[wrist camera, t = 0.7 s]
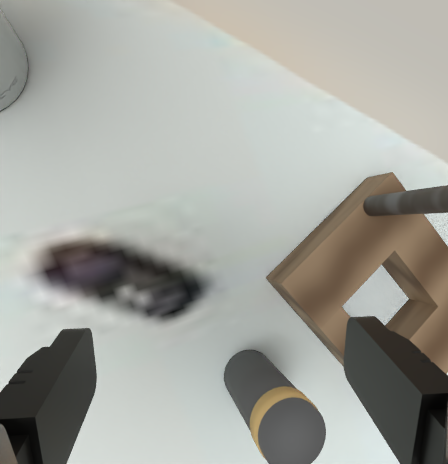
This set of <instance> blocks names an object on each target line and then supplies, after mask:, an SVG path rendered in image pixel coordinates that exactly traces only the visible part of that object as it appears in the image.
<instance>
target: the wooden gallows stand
mask: <svg viewBox="0 0 448 464" xmlns="http://www.w3.org/2000/svg"><path fill="white" fill-rule="evenodd" d="M447 212H448V185H447V186H440V187H432V188H425V189H418V190H411V191H406V190H405V188H404V187H403V186H402V184H401V183H400V182H399V180H398V179H397V178H396V176H395V175H394V173H393V172H391V173H386V174H382V175H377V176H373V177H368V178H366V179H365V180H364V181H363V182H362V183H361V184H360V185H359V186H358V187H357V188H356V189H355V190H354V191H353V192H352V193H351V194H350V195H349V196H348V197H347V198H346V199H345V200H344V201H343V202H342V203H341V204H340V205H339V206H338V207H337V208H336V209H335V210H334V211H333V212H332V213H331V214H330V215H329V216H328V217H327V218H326V219H325V220H324V221H323V222H322V223H321V224H320V225H319V226H318V227H317V228H316V229H315V230H314V231H313V232H312V233H311V234H310V235H309V236H308V237H307V238H306V239H305V240H304V241H303V242H302V243H300V244H299V245H298V246H297V247H296V248H295V249H294V250H293V251H292V252H291V253H290V254H289V255H288V256H287V257H286V258H285V259H284V260H283V261H282V262H281V263H280V264H279V265H278V266H277V267H276V268H275V269H274V270H273V271H272V272H271V273H270V274H269V275H268V276H267V277H266V279H267V280H268V281H269V282H270V283H271V284H272V285H273V287H274V288H275V289H276V290H277V291H278V292H279V293H280V295H281V296H282V297H283V298H284V299H285V300H286V301H287V303H288V304H289V305H290V306H291V307H292V308H293V309H294V311H295V312H296V313H297V314H298V315H299V316H300V317H301V319H302V320H303V321H304V322H305V323H306V324H307V325H308V327H309V328H310V329H311V330H312V331H313V332H314V333H315V335H316V336H317V337H318V338H319V339H320V340H321V341H322V343H323V344H324V345H325V346H326V347H327V348H328V349H329V351H330V352H331V353H332V354H333V355H334V356H335V357H336V358H337V360H338V361H339V362H340V363H341V364H342V365H343V366H344V362H343V361H344V349H345V339H346V328H347V322H348V319H349V318H350V316H349V315H348V314H347V313H346V311H345V310H344V309H343V308H342V306H343V305H344V304H345V303H346V302H347V300H348V299H349V298H350V297H351V296H352V295H353V294H354V293H355V292H356V291H357V290H358V289H359V288H360V287H361V286H362V284H363V283H364V282H365V281H366V280H367V279H368V278H369V277H370V276H371V275H372V274H373V273H374V272H375V271H376V270H377V269H378V267H379V266H380V265H381V264H382V265H383V266H384V268H385V269H386V270H387V271H388V273H389V274H390V275H391V276H392V278H393V279H394V280H395V281H396V283H397V284H398V285H399V286H400V288H401V289H402V290H403V291H404V293H405V294H406V295H407V297H408V298H409V300H408V301H407V302H406V303H405V305H404V306H403V307H402V308H401V309H400V310H399V311H398V312H397V313H396V315H395V316H394V317H393V318H392V319H391V320H390V321H389V322H388V323H387V325H386V326H385V327H387V328H388V329H389V330H390V331H394V332H396V333H398V334H399V335H401V336H403V337H405V338H407V339H409V340H410V341H411V342H412V343H413V344H414V345H415V346H416V347H418V348H419V349H420V350H421V353H424V354H425V355H426V356H427V357H428V358H429V359H430V360H431V362H434V363H435V364H436V365H437V366H438V367H439V368H440V369H441V370H442V371H443V372H444V373H445V374H447V372H448V246H447V245H446V244H445V242H444V241H443V240H442V238H441V237H440V236H439V234H438V233H437V232H436V230H435V229H434V227H433V226H432V225H431V223H430V222H429V221H428V219H427V218H426V217H425V215H424V214H427V213H447Z"/></svg>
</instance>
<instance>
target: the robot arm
mask: <svg viewBox="0 0 448 464" xmlns="http://www.w3.org/2000/svg"><path fill="white" fill-rule="evenodd" d="M27 74H28V62H27V55H26V53H25V50H24V47H23V45H22V43H21V41H20V40H19V38H18V36H17V35H16V33H15V32H14V30H13V28H12V27H11V25H10V24H9V22H8V20H7V19H6V17H5V15H4V14H3V12H2V10H1V9H0V111H1V110H2V109H4V108H6V107H8V106H9V105H10V104H11V103H12V102H13V101H15V100H16V99H17V98H18V96H19V95H20V93H21V92H22V90H23V88H24V86H25V83H26V80H27ZM343 362H344V371H345V375H346V378H347V380H348V382H349V384H350V385H351V387H352V388H353V390H354V392H355V393H356V395H357V396H358V398H359V399H360V401H361V403H362V404H363V406H364V407H365V409H366V410H367V412H368V414H369V415H370V417H371V418H372V420H373V422H374V423H375V425H376V426H377V428H378V429H379V431H380V433H381V434H382V436H383V437H384V439H385V440H386V442H387V444H388V445H389V447H390V448H391V450H392V452H393V453H394V455H395V456H396V458H397V459H398V461H399V463H400V464H448V375H447V374H445V373H444V372H443V371H442V370H441V369H440V368H439V367H438V366H437V365H436V364H435V363H434V362H431V360H430V359H429V358H428V357H427V356H426V355H425V354H424V353H421V350H420V349H419V348H418V347H416V346H415V345H414V344H413V343H412V342H411V341H410V340H409V339H407V338H405V337H403V336H401V335H399V334H398V333H396V332H394V331H390V330H389V329H388V328H387V327H385V326H384V325H383V324H382V323H381V322H380V321H379V320H378V319H377V318H376V317H374V316H367V317H350V318H349V319H348V322H347V328H346V339H345V349H344V361H343ZM96 378H97V376H96V365H95V356H94V347H93V338H92V332H91V330H90V329H89V328H81V329H63V330H62V331H61V332H60V333H59V335H58V336H57V338H56V339H55V340H54V342H53V343H52V345H51V346H50V347H42V348H41V349H39V350H38V351H37V352H35V353H34V354H32V355H31V356H30V357H28V358H27V359H26V360H25V361H24V363H23V364H22V365H21V367H20V368H19V369H18V370H17V373H16V374H14V376H13V377H12V378H11V379H10V381H9V384H8V385H6V386H5V387H4V388H3V390H2V391H1V392H0V464H66V463H67V461H68V458H69V456H70V453H71V451H72V448H73V446H74V443H75V441H76V438H77V436H78V433H79V431H80V428H81V426H82V423H83V421H84V419H85V416H86V414H87V411H88V409H89V406H90V404H91V401H92V399H93V396H94V393H95V388H96Z"/></svg>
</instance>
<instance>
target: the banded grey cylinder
mask: <svg viewBox="0 0 448 464" xmlns="http://www.w3.org/2000/svg"><path fill="white" fill-rule="evenodd" d="M224 381H225V385H226V387H227V389H228V391H229V393H230V395H231V397H232V398H233V400H234V402H235V404H236V406H237V408H238V409H239V411H240V413H241V415H242V417H243V419H244V420H245V422H246V424H247V426H248V428H249V430H250V432H251V435H252V437H253V440H254V441H255V443H256V445H257V447H258V449H259V451H260V453H261V454H262V456H263V457H264V458H265V459H266V460H267V462H268V463H269V464H311V463H312V462H313V461H314V460H315V459H316V458H317V456H318V455H319V453H320V452H321V450H322V448H323V445H324V442H325V436H326V428H325V423H324V420H323V417H322V416H321V414H320V413H319V411H318V409H317V408H316V406H315V405H314V404H313V403H312V402H311V401H310V400H309V399H308V398H307V397H306V396H305V395H304V394H303V393H302V392H301V391H299V390H297V389H296V388H295V387H294V386H293V385H292V384H291V383H290V381H289V380H288V379H287V378H286V377H285V376H284V375H283V374H282V373H281V372H280V371H279V370H278V369H277V368H276V367H275V366H274V365H273V364H272V363H271V362H270V361H269V360H268V359H267V358H266V357H265V356H264V355H263V354H262V353H260V352H258V351H255V350H245V351H241V352H239V353H237V354H236V355H234V356H233V357H232V358H231V359H230V361H229V362H228V364H227V366H226V368H225V372H224Z"/></svg>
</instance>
